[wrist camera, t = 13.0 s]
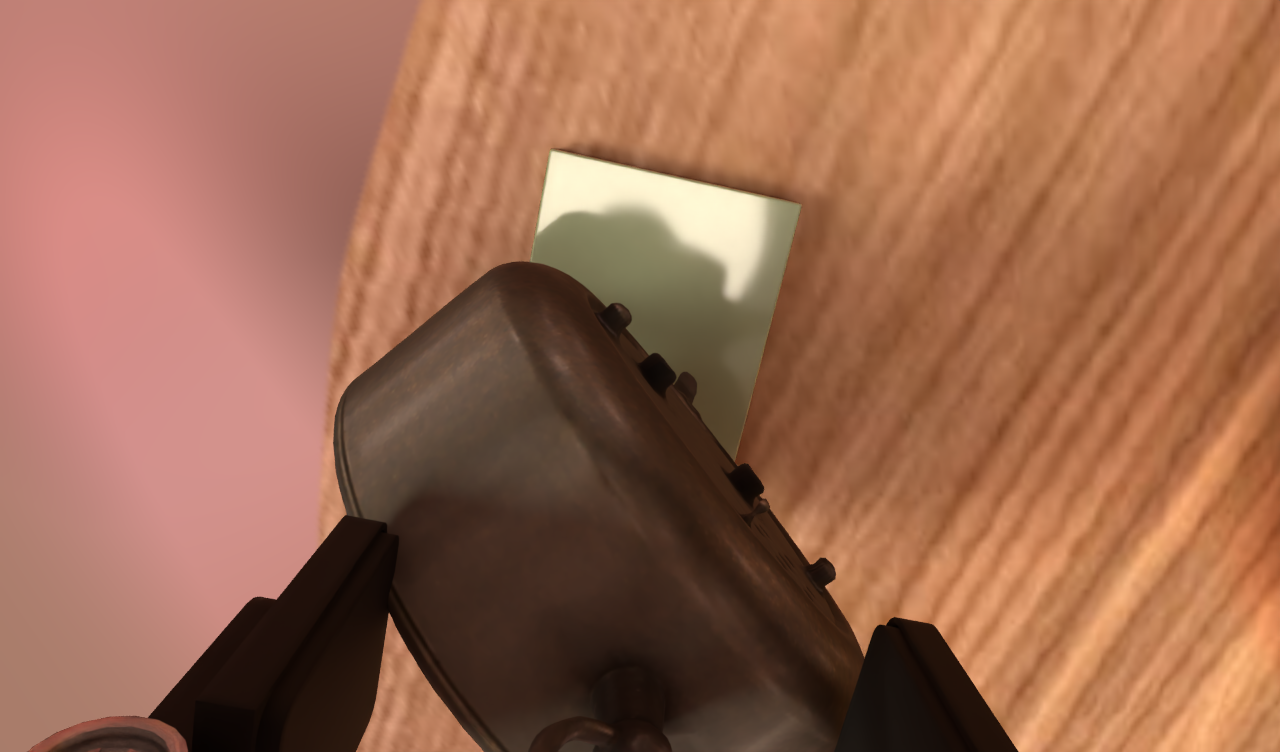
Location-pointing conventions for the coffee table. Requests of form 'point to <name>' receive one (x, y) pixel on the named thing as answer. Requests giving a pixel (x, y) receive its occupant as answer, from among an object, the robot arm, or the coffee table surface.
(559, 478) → the alarm clock
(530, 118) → the coffee table surface
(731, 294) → the green rectangular slab
